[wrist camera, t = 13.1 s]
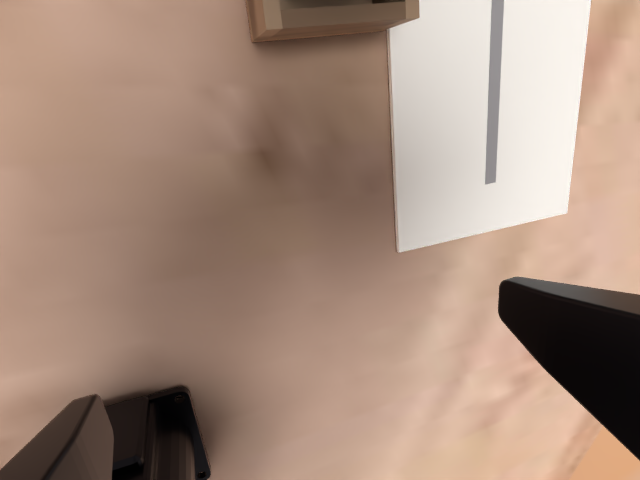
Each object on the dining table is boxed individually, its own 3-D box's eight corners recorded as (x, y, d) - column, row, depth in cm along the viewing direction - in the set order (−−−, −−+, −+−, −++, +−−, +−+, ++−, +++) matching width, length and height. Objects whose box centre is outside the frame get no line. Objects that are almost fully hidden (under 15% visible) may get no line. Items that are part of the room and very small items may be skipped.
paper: (563, 211, 26) (567, 213, 26) (396, 251, 23) (399, 253, 23) (595, -88, 21) (602, -91, 20) (381, -87, 18) (385, -90, 17)
